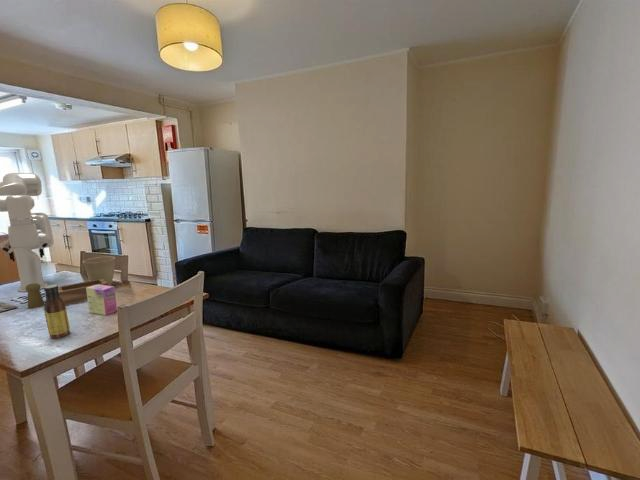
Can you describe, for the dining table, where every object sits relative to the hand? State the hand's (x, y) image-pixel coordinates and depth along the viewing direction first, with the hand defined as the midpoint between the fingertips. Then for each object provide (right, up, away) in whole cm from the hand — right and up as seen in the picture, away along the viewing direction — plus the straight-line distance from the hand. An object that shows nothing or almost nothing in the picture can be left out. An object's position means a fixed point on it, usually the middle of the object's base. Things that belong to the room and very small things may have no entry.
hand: (27, 259), depth 147 cm
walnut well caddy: (+16, -21, +14) cm, 30 cm away
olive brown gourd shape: (0, -23, +4) cm, 23 cm away
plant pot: (+13, -18, +32) cm, 39 cm away
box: (+38, -24, -4) cm, 45 cm away
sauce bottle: (+36, -28, -26) cm, 53 cm away
